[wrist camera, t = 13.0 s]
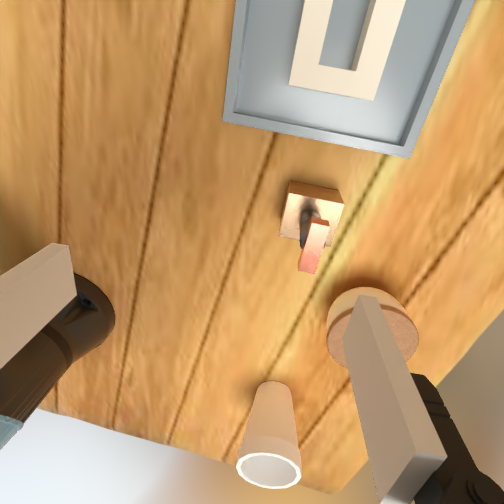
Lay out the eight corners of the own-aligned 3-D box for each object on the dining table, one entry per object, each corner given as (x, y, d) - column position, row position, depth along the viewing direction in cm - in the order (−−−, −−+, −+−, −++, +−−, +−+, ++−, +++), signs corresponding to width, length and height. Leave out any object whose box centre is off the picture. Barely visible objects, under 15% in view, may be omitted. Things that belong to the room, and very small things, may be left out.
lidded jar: (409, 319, 44) (436, 371, 36) (339, 340, 48) (348, 393, 39) (384, 261, 40) (407, 305, 32) (310, 289, 44) (313, 335, 36)
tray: (227, 119, 34) (222, 121, 32) (258, -144, 25) (254, -167, 23) (402, 154, 34) (409, 158, 32) (504, -102, 24) (525, -121, 22)
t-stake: (280, 219, 39) (275, 266, 29) (289, 180, 37) (287, 216, 26) (326, 229, 39) (337, 279, 29) (338, 190, 37) (355, 230, 26)
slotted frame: (317, -60, 26) (320, -79, 23) (410, -44, 26) (425, -61, 23) (289, 85, 31) (288, 84, 28) (365, 99, 31) (373, 100, 28)
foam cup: (239, 396, 57) (226, 472, 46) (262, 367, 53) (253, 444, 41) (284, 415, 58) (281, 495, 47) (310, 389, 54) (313, 470, 42)
